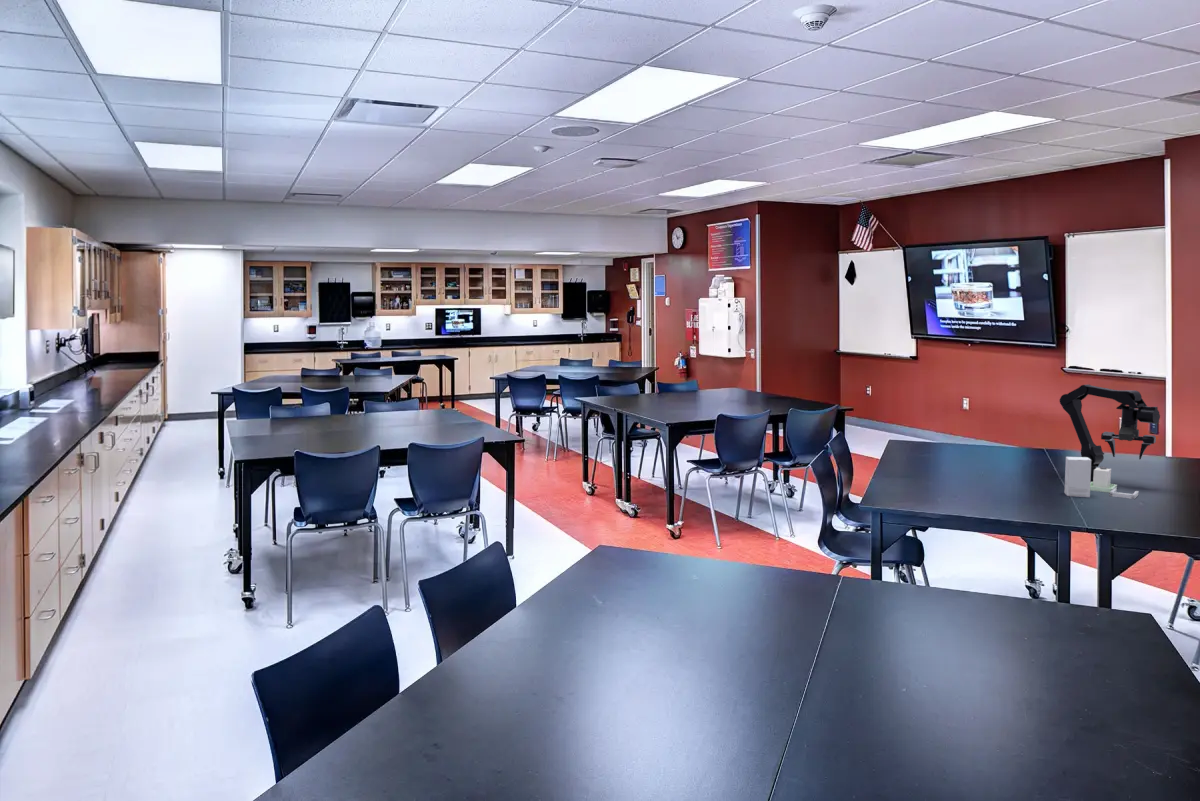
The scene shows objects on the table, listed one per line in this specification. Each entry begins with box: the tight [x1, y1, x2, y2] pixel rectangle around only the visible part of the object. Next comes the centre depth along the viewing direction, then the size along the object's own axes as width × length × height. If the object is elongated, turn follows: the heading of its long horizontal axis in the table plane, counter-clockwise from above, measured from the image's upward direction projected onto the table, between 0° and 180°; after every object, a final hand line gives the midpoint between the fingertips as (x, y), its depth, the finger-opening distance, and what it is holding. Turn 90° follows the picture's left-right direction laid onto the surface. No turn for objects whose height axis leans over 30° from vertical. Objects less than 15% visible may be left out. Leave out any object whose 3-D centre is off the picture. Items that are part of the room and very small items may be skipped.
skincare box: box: [1064, 456, 1092, 498], centre depth 333 cm, size 8×7×16 cm
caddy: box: [1093, 465, 1112, 489], centre depth 344 cm, size 5×7×9 cm
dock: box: [1108, 489, 1139, 500], centre depth 333 cm, size 8×10×2 cm
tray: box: [1090, 482, 1118, 493], centre depth 344 cm, size 9×11×2 cm
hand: (1126, 458), depth 348 cm, fingers open, 9 cm apart
